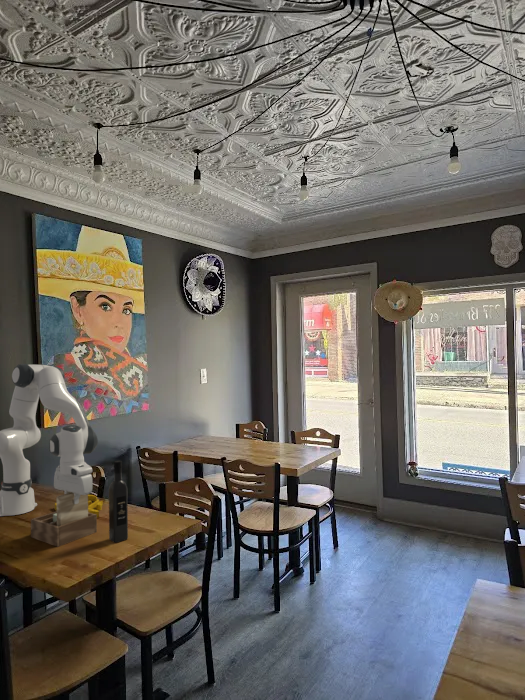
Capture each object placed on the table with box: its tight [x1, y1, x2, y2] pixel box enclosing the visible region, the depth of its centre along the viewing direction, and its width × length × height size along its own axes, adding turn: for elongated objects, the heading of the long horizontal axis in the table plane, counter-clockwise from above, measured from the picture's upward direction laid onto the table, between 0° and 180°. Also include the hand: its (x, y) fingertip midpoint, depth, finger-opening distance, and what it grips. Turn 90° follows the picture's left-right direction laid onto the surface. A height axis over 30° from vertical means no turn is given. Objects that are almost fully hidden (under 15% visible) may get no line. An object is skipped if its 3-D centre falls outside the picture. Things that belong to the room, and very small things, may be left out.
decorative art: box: [54, 494, 104, 518], centre depth 212 cm, size 21×3×30 cm
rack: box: [30, 510, 98, 548], centre depth 182 cm, size 18×17×7 cm
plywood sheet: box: [56, 492, 89, 527], centre depth 179 cm, size 2×12×14 cm, turn 147°
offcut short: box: [53, 513, 57, 522], centre depth 182 cm, size 4×6×3 cm, turn 141°
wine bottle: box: [108, 460, 129, 544], centre depth 176 cm, size 6×6×30 cm
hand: (72, 502), depth 179 cm, fingers closed on plywood sheet, 2 cm apart
